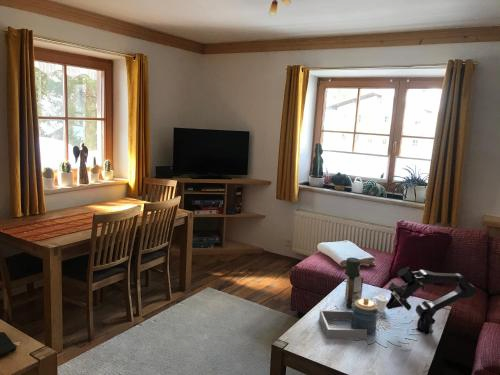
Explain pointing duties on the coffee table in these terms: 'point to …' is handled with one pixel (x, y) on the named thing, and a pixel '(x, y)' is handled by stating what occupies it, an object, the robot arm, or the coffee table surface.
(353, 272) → the stick grenade
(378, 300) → the cup
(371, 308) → the canister
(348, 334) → the corral
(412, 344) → the coffee table surface
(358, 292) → the coffee box
